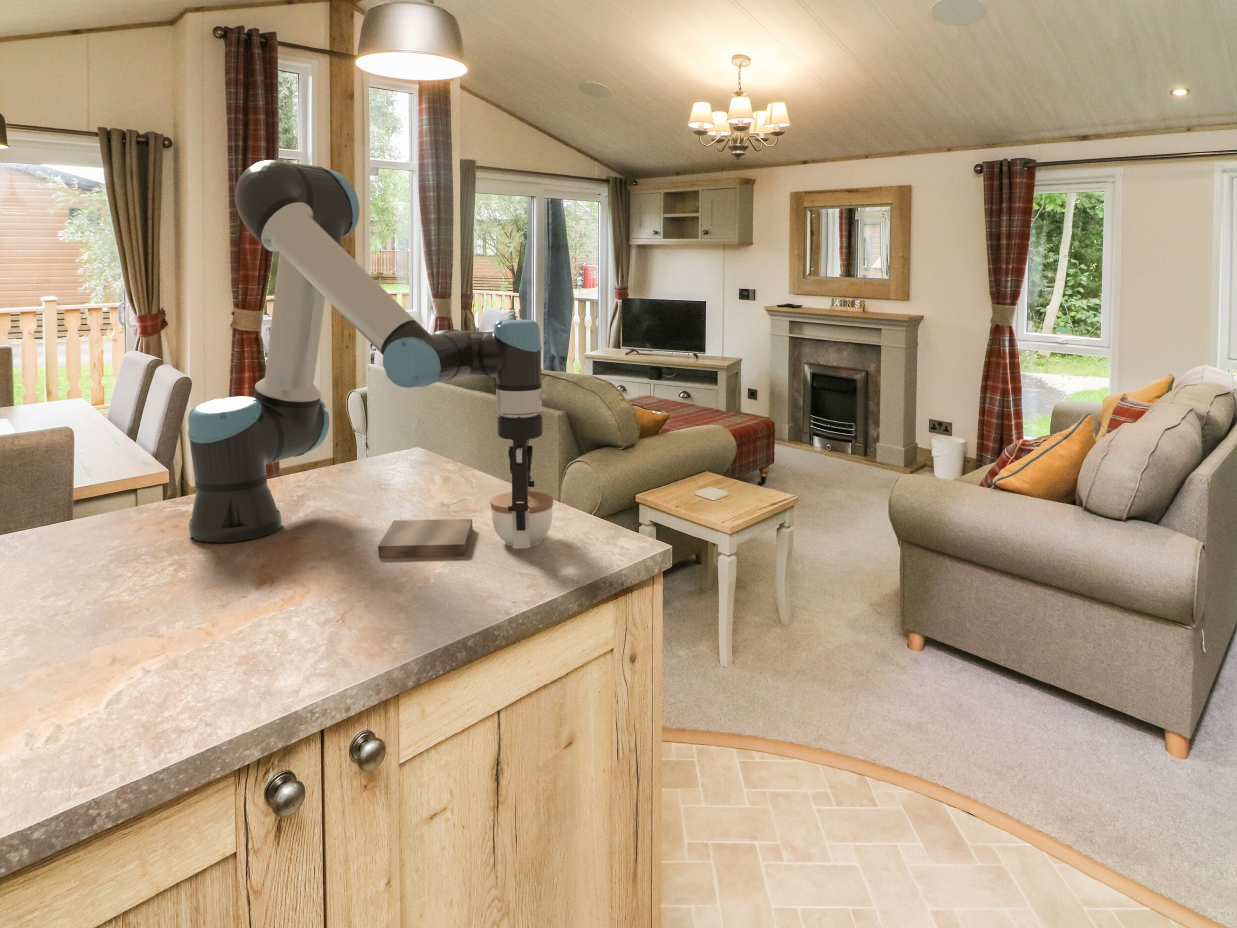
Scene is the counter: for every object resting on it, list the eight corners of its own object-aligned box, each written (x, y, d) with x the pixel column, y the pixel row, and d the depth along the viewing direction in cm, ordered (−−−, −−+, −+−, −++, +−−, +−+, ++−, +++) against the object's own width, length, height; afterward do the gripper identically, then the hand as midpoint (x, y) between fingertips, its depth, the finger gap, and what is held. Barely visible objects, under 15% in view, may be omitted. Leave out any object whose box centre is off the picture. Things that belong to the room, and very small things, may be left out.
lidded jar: (543, 554, 139) (542, 500, 137) (482, 549, 141) (480, 496, 139) (560, 534, 149) (560, 483, 147) (503, 530, 151) (502, 480, 149)
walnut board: (378, 557, 137) (377, 546, 136) (394, 530, 150) (393, 520, 150) (464, 555, 138) (464, 544, 137) (472, 529, 151) (472, 518, 151)
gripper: (541, 427, 128) (543, 558, 133) (543, 401, 152) (545, 513, 157) (491, 427, 127) (496, 559, 132) (501, 401, 151) (505, 514, 156)
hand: (522, 535), depth 145 cm, fingers open, 12 cm apart
